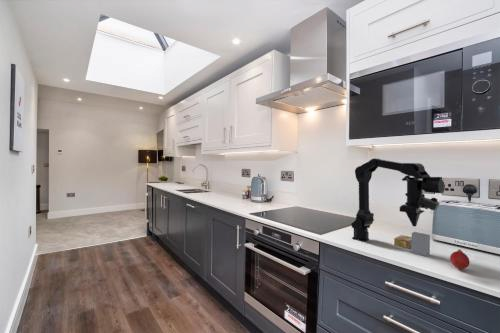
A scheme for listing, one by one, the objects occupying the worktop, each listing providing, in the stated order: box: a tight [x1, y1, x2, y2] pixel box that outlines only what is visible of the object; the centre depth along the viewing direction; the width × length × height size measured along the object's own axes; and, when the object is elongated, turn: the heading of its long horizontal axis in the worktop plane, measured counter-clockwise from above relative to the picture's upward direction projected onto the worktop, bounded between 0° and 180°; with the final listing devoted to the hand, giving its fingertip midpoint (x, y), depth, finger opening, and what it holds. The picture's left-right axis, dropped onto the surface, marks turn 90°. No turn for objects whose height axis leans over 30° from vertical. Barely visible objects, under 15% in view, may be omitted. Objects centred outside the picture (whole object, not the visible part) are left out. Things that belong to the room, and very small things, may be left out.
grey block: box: [410, 231, 431, 258], centre depth 110 cm, size 6×4×9 cm, turn 38°
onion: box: [449, 249, 471, 271], centre depth 94 cm, size 6×6×8 cm
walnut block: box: [393, 234, 412, 250], centre depth 121 cm, size 6×4×9 cm
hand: (414, 226), depth 106 cm, fingers closed
